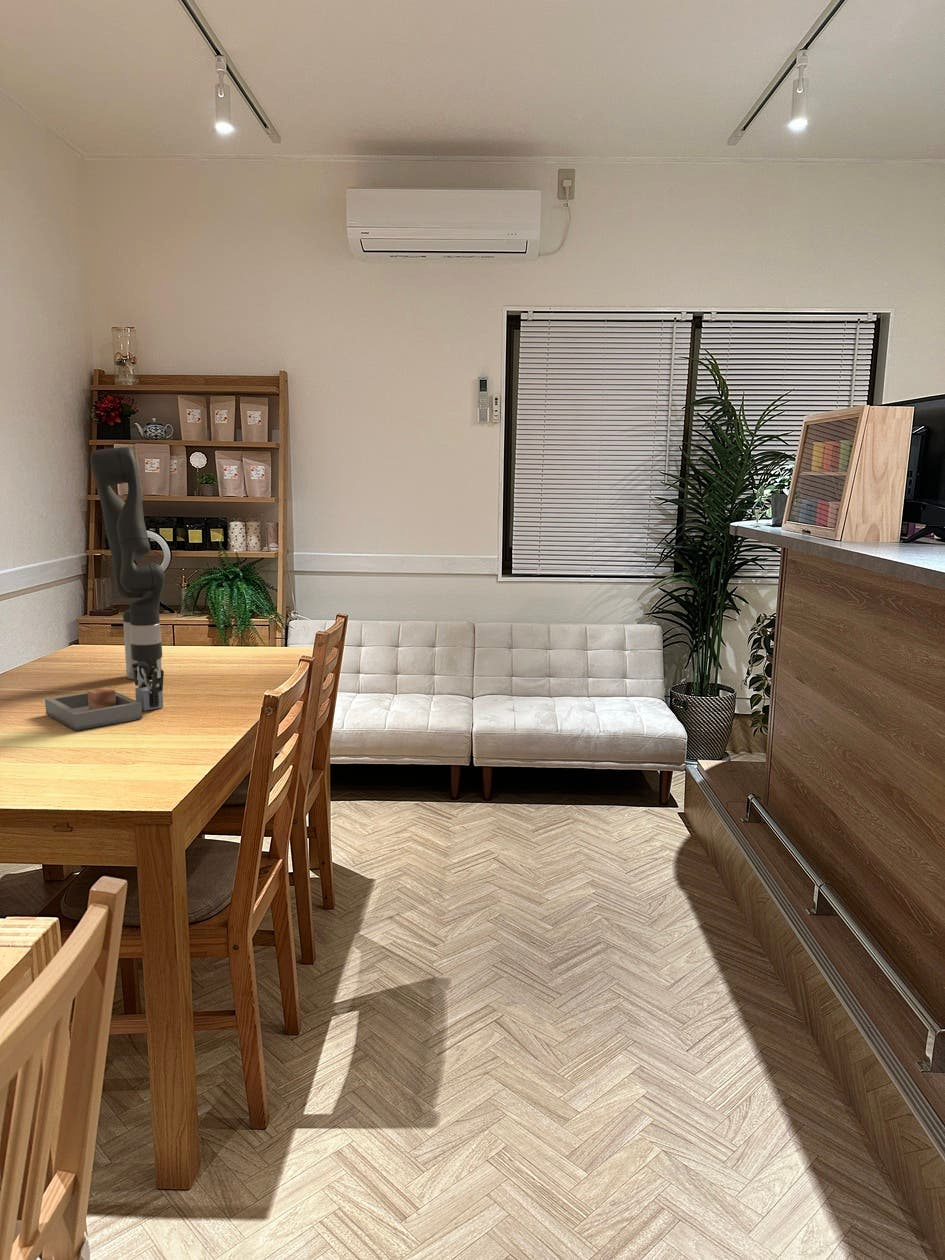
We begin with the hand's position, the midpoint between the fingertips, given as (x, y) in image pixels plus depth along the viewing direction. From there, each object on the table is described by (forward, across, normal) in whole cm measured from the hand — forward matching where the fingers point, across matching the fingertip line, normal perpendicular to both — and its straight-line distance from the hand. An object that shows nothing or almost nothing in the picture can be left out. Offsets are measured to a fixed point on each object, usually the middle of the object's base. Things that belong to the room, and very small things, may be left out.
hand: (149, 704), depth 224 cm
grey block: (+1, 0, 0) cm, 1 cm away
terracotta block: (0, +3, +11) cm, 11 cm away
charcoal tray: (+1, +1, +14) cm, 14 cm away
